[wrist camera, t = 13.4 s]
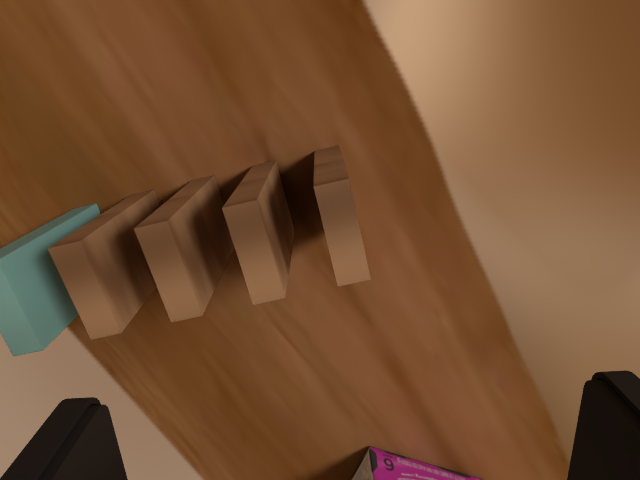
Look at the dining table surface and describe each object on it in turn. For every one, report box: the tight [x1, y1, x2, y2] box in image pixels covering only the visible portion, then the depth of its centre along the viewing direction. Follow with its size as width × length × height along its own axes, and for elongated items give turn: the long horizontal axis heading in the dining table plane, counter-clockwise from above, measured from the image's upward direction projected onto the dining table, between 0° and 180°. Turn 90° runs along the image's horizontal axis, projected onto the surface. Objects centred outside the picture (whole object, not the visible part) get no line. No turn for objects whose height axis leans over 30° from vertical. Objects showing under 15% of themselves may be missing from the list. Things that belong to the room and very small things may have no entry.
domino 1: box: [48, 190, 160, 340], centre depth 26 cm, size 5×2×10 cm, turn 13°
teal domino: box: [0, 204, 101, 356], centre depth 26 cm, size 5×2×10 cm, turn 13°
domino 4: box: [314, 146, 371, 286], centre depth 25 cm, size 5×2×10 cm, turn 13°
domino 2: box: [134, 175, 235, 322], centre depth 26 cm, size 5×2×10 cm, turn 13°
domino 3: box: [222, 160, 295, 305], centre depth 26 cm, size 5×2×10 cm, turn 13°
